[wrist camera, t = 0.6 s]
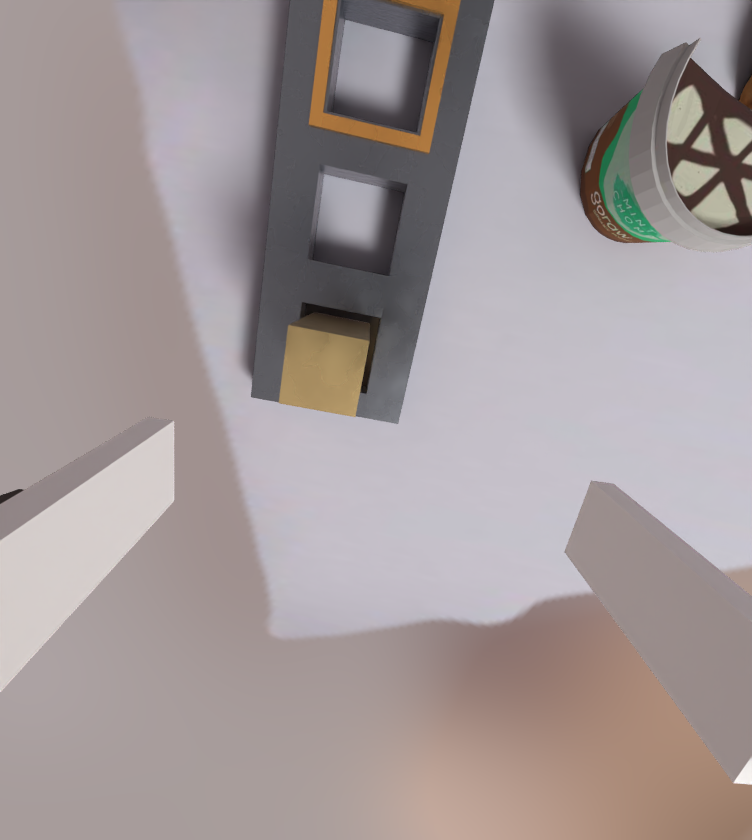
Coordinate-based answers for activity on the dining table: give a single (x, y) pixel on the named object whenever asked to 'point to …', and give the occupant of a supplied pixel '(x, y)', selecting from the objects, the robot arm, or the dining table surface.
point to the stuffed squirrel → (747, 94)
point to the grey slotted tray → (368, 163)
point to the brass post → (324, 363)
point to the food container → (673, 163)
